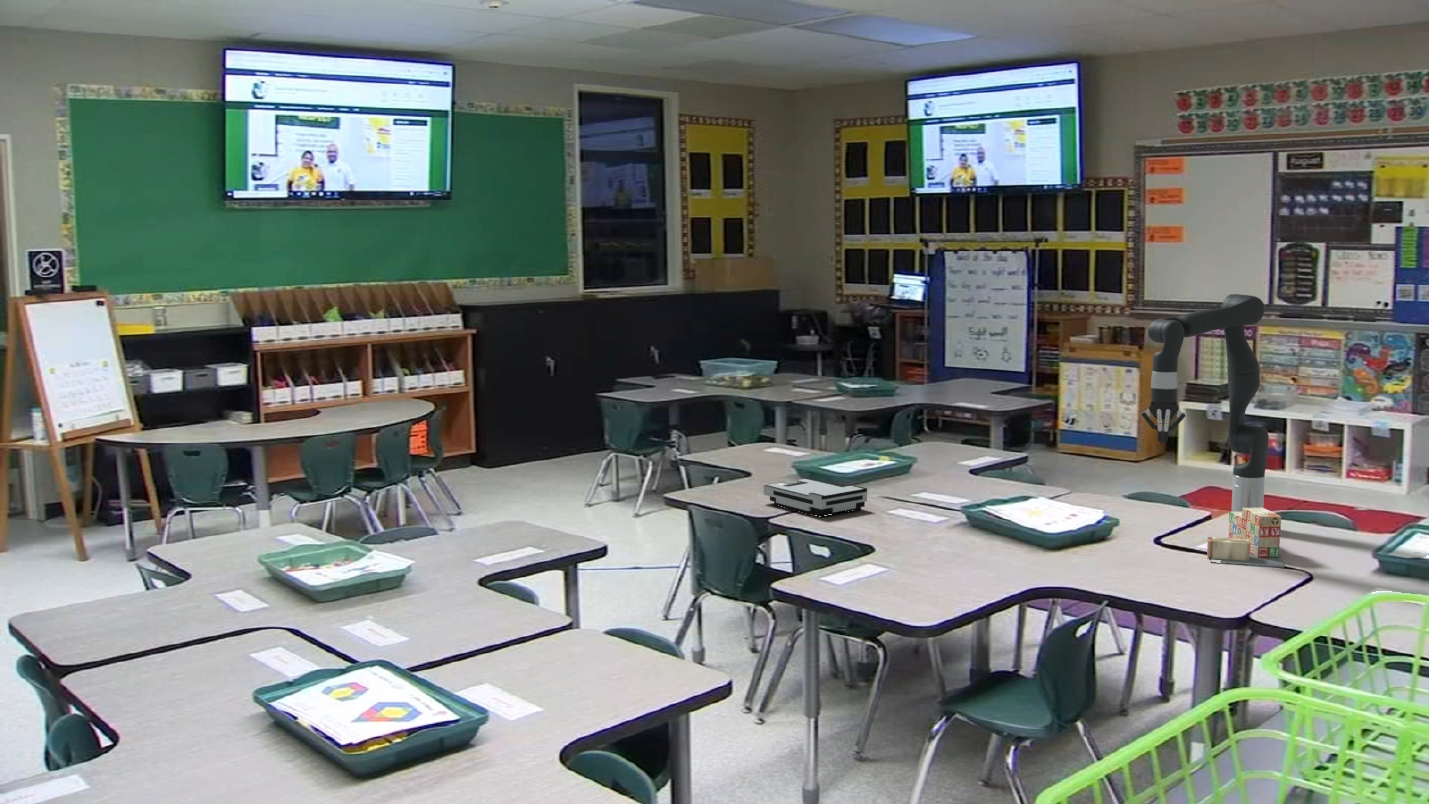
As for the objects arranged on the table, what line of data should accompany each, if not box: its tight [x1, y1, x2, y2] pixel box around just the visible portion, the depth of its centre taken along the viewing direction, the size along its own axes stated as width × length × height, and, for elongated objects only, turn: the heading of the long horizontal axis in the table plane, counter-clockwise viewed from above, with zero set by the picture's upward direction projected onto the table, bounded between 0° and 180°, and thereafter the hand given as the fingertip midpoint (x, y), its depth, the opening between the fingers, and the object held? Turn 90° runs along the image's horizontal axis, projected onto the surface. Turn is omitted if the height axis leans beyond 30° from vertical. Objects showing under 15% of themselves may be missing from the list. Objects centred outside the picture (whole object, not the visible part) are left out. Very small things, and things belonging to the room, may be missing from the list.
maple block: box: [1206, 536, 1250, 561], centre depth 349 cm, size 5×5×11 cm
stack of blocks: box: [1228, 507, 1282, 557], centre depth 358 cm, size 21×6×12 cm, turn 179°
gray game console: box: [763, 477, 868, 516], centre depth 426 cm, size 21×32×8 cm, turn 35°
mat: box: [1210, 552, 1285, 569], centre depth 348 cm, size 13×19×1 cm
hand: (1162, 443), depth 364 cm, fingers closed
